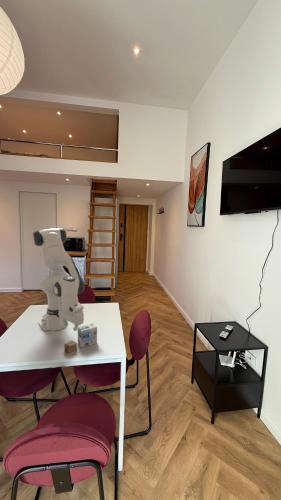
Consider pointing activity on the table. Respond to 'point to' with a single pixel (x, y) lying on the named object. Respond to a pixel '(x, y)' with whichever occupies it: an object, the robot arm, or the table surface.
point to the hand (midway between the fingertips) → (70, 328)
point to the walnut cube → (70, 346)
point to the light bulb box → (87, 335)
